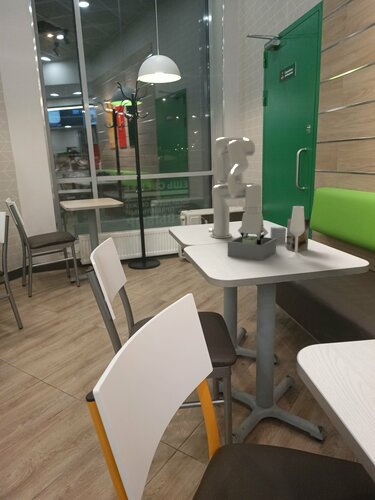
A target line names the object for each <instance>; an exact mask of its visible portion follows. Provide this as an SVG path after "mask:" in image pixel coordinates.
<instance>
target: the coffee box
mask: <svg viewBox="0 0 375 500" xmlns="http://www.w3.org/2000/svg"><path fill="white" fill-rule="evenodd" d="M291 218H292V217H290V218H287V223H286V225H287V226H286V227H287V229H286V239H285V244H286V246H285V248H286V249H285V250H288V251H291V252H295V239H296V237H295V236H294V235H293V234H292V233H291V232H290V225H291ZM304 224H305V231H304V232H303V234H302V235H300V236H299V237H298V250H297V252H298V251H306V250H308V248H309V246H308V245H309V231H310V218H307V217H304Z"/></svg>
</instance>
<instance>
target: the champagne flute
mask: <svg viewBox="0 0 375 500" xmlns="http://www.w3.org/2000/svg"><path fill="white" fill-rule="evenodd" d="M291 211H292V212H291V217H290V218H291V225H290V232H291V233H292V234H293V235H294V236H295V237H296V239H295V251H294V252H293V253H291V254H290V255H288V258H291V259H302V258H304V256H303V255H302V254H300V253H299V252H298V251H297V250H298V237H299V236H300V235H302V234H303V232H304V231H305V224H304V218H305V207H304V206H303V205H294V206H292V210H291Z"/></svg>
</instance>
